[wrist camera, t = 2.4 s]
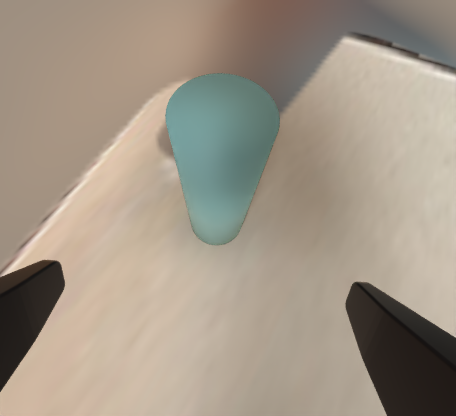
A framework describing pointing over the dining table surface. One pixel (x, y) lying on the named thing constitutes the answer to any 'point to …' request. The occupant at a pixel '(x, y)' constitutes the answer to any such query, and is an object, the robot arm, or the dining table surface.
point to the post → (220, 149)
